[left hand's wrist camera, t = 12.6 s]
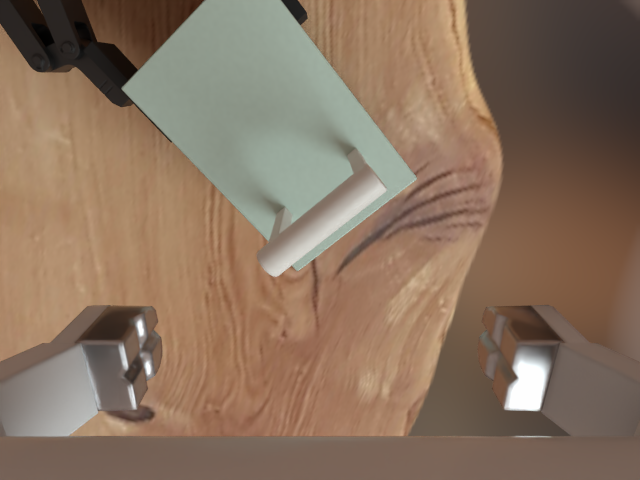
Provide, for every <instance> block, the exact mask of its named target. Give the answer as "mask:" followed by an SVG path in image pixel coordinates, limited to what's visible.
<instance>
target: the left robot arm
mask: <svg viewBox="0 0 640 480" xmlns="http://www.w3.org/2000/svg"><path fill="white" fill-rule="evenodd" d="M157 323H158V319H157V314H156V310H155V309H154V308H153V307H152V306H114V305H113V306H111V305H93V306H87V307H86V308H85V309H84V310H83V311H82V312H81V313H80V314H79V315H78V316H77V317H76V318H75V319H74V320H73V321H72V322H71V323H70V324H69V325H68V326H67V327H66V328H65V329H64V330H63V331H62V332H61V333H60V334H59V335H58V336H57V337H56V338H55V339H54V340H53V341H52V342H51V343H42V344H40V345H38V346H35V347H33V348H31V349H29V350H26V351H24V352H22V353H19V354H17V355H15V356H13V357H10V358H8V359H6V360H3V361H1V362H0V480H640V362H639V361H636V360H634V359H632V358H630V357H627V356H625V355H623V354H620V353H618V352H616V351H614V350H611V349H609V348H607V347H604V346H602V345H600V344H598V343H589V342H588V341H587V340H586V339H585V338H584V337H583V336H582V335H581V334H580V333H579V332H578V331H577V330H576V329H575V328H574V327H573V326H572V325H571V324H570V323H569V322H568V321H567V320H566V319H565V318H564V317H563V316H562V315H561V314H560V313H559V312H558V311H557V310H556V309H555V308H554V307H552V306H549V305H535V306H497V307H486V309H485V311H484V313H483V318H482V323H483V324H484V326H485V328H486V329H487V330H486V331H485V332H484V333H483V334H482V335H481V336H480V337H479V342H478V359H479V363H480V366H481V369H482V371H483V373H484V375H485V376H486V377H488V378H489V379H491V380H492V381H493V387H492V389H493V391H494V393H495V395H496V397H497V398H498V400H499V402H500V404H501V406H502V407H503V409H504V410H524V411H542V413H543V414H544V415H545V416H547V417H548V418H549V419H551V420H552V421H553V422H554V423H556V424H557V425H558V426H559V427H561V428H562V429H563V430H565V431H566V432H567V433H569V434H570V435H571V436H69V435H70V434H72V433H73V432H74V431H76V430H77V429H78V428H79V427H81V426H82V425H83V424H85V423H86V422H87V421H88V420H90V419H91V418H92V417H94V416H95V415H96V414H97V413H98V411H115V410H136V409H137V408H138V406H139V404H140V402H141V400H142V399H143V397H144V395H145V393H146V391H147V389H148V387H147V381H148V380H149V379H151V378H152V377H154V376H155V375H156V373H157V371H158V369H159V367H160V363H161V358H162V341H161V337H160V336H159V335H158V334H157V333H156V332H155V331H154V330H153V329H154V328H155V326H156V325H157Z"/></svg>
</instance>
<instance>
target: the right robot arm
mask: <svg viewBox="0 0 640 480" xmlns="http://www.w3.org/2000/svg"><path fill="white" fill-rule="evenodd" d="M37 1H38V4H39V6H40V8H41V11H42V13H43V14H42V13H41V11H40V10H39V8H38V7H37V5H36V4H35V2H34V1H33V0H0V24H1V25H2V27H3V28H4V29H5V31H6V32H7V34H8V35H9V37H10V38H11V39H12V41H13V42H14V44H15V45H16V47H17V48H18V49H19V51H20V52H21V54H22V55H23V57H24V58H25V59H26V61H27V62H28V64H29V65H30V66H31V67H32V68H33V69H34V70H35V71H37V72H69V71H70V70H71V69H72V68H74V67H77V68H78V69H80V70H81V71H82V72H83V73H84V74H85V75H86V76H87V77H88V78H89V79H90V80H91V81H92V83H93V84H94V85H95V86H96V87H97V88H99V89H100V91H101V92H102V93H103V94H105V96H106V97H107V98H108V99H109V100H110V101H111V102H112V103H114V104H116V105H118V106H120V107H125V106H131V105H132V104H133V103H134V102H133V101H132V100H131V99H130V98H129V96H128V95H127V94H126V93H125V92H124V91H123V90H122V89H121V88H122V87H123V86H124V85H125V84H126V82H127V81H128V80H129V79H130V78H131V77H132V76H133V75H134V74H135V73H136V72H137V71H138V69H137V68H136V67H135V66H134V65H133V64H132V63H131V62H130V61H129V60H128V59H127V58H126V57H125V56H124V54H123V53H122V52H121V51H120V50H119V49H118V48H117V47H116V46H115V45H114V44H108V43H101V42H97V40H96V37H95V34H94V32H93V29H92V27H91V24H90V21H89V19H88V16H87V14H86V11H85V9H84V6H83V3H82V1H81V0H37ZM281 1H282V2H283V4H284V5H285V6H286V7H287V9H288V10H289V11H290V13H291V14H292V15H293V17H294V18H295V19H296V21H297V22H298V23H299V24H300V25H301V24H302V23H303V22H304V21H305V20H306V19H308V18H307V12H306V11H305V10H304V8H303V7H302V6H301V4H300V3H299V2H298V0H281ZM134 104H135V103H134ZM135 105H136V104H135ZM136 106H137V105H136ZM137 108H138V109H139V110H140V111H141V112H142V113H143V114H144V115H145V116H146V117H147V118H148V119H149V120H150V121H151V122H152V123H153V124H154V125H155V126H156V127H157V128H158V126H157V125H156V124H155V123H154V122H153V121H152V120H151V119H150V118H149V117H148V116H147V115H146V114H145V113H144V112H143V111H142V110H141V109H140V108H139V107H138V106H137ZM158 129H159V128H158ZM159 130H160V129H159ZM160 131H161V130H160ZM161 132H162V131H161ZM162 133H163V132H162ZM163 135H164V136H165V137H166V138H167V139H168V140H169V141H170V142H172V141H171V140H170V139H169V138H168V137H167V136H166V135H165V134H164V133H163Z"/></svg>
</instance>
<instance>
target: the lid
mask: <svg viewBox="0 0 640 480" xmlns="http://www.w3.org/2000/svg"><path fill="white" fill-rule="evenodd" d="M121 89H122V90H123V91H124V92H125V93H126V94H127V95H128V96H129V98H130V99H131V100H132V101H133V102H134V103H135V104H136V105H137V106H138V107H139V108H140V109H141V110H142V111H143V112H144V113H145V114H146V115H147V116H148V117H149V118H150V119H151V120H152V121H153V122H154V123H155V124H156V125H157V126H158V128H159V129H160V130H161V131H162V132H163V133H164V134H165V135H166V136H167V137H168V138H169V139H170V140H171V141H172V142H173V143H174V144H175V145H176V146H177V147H178V148H179V149H180V150H181V151H182V152H183V153H184V154H185V155H186V157H187V158H188V159H189V160H190V161H191V162H192V163H193V164H194V165H195V166H196V167H197V168H198V169H199V170H200V171H201V172H202V173H203V174H204V175H205V176H206V177H207V178H208V179H209V180H210V181H211V182H212V183H213V184H214V186H215V187H216V188H217V189H218V190H219V191H220V192H221V193H222V194H223V195H224V196H225V197H226V198H227V199H228V200H229V201H230V202H231V203H232V204H233V205H234V206H235V207H236V208H237V209H238V210H239V211H240V212H241V213H242V214H243V216H244V217H245V218H246V219H247V220H248V221H249V222H250V223H251V224H252V225H253V226H254V227H255V228H256V229H257V230H258V231H259V232H260V233H261V234H262V235H263V236H264V237H265V238H266V239H267V240H268V241H269V243H268V244H266V245H265V246H264V247H263V248H262V249H260V250H259V251H258V252H257V259H258V261H259V263H260V265H261V266H262V267H263V269H264V270H265V271H266V272H267V273H268V274H270V275H271V276H274V277H276V276H279V275H280V274H281V273H282V272H284V271H285V270H286V269H288V268H289V267H290V266H291V265H292V266H293V267H294V268H295V269H296V270H297V271H299V270H300V269H301V268H302V267H304V266H305V265H306V264H308V263H309V262H310V261H311V260H313V259H314V258H315V257H317V256H318V255H319V254H321V253H322V252H323V251H324V250H326V249H327V248H328V247H330V246H331V245H332V244H333V243H335V242H336V241H337V240H339V239H340V238H341V237H343V236H344V235H345V234H346V233H348V232H349V231H350V230H352V229H353V228H354V227H355V226H357V225H358V224H359V223H361V222H362V221H363V220H364V219H366V218H367V217H368V216H370V215H371V214H372V213H374V212H375V211H376V210H377V209H379V208H380V207H381V206H383V205H384V204H385V203H386V202H388V201H389V200H390V199H392V198H393V197H394V196H396V195H397V194H398V193H399V192H401V191H402V190H403V189H405V188H406V187H407V186H408V185H410V184H411V183H412V182H414V181H415V180H416V179H417V177H416V176H415V174H414V173H413V172H412V171H411V169H410V168H409V167H408V165H407V164H406V163H405V161H404V160H403V159H402V158H401V156H400V155H399V154H398V152H397V151H396V150H395V148H394V147H393V146H392V144H391V143H390V142H389V141H388V139H387V138H386V137H385V135H384V134H383V133H382V131H381V130H380V129H379V128H378V126H377V125H376V124H375V122H374V121H373V120H372V118H371V117H370V116H369V114H368V113H367V112H366V111H365V109H364V108H363V107H362V105H361V104H360V103H359V101H358V100H357V99H356V97H355V96H354V95H353V94H352V92H351V91H350V90H349V88H348V87H347V86H346V84H345V83H344V82H343V81H342V79H341V78H340V77H339V75H338V74H337V73H336V71H335V70H334V69H333V67H332V66H331V65H330V64H329V62H328V61H327V60H326V58H325V57H324V56H323V54H322V53H321V52H320V51H319V49H318V48H317V47H316V45H315V44H314V43H313V41H312V40H311V39H310V37H309V36H308V35H307V34H306V32H305V31H304V30H303V28H302V27H301V26H300V24H299V23H298V22H297V21H296V19H295V18H294V17H293V15H292V14H291V13H290V11H289V10H288V9H287V7H286V6H285V5H284V4H283V2H282V1H281V0H204V1H203V2H202V3H201V4H200V5H199V6H198V8H197V9H196V10H195V11H194V12H193V13H192V14H191V15H190V16H189V17H188V18H187V19H186V20H185V21H184V22H183V23H182V24H181V25H180V27H179V28H178V29H177V30H176V31H175V32H174V33H173V34H172V35H171V36H170V37H169V38H168V39H167V40H166V41H165V42H164V43H163V44H162V46H161V47H160V48H159V49H158V50H157V51H156V52H155V53H154V54H153V55H152V56H151V57H150V58H149V59H148V60H147V61H146V62H145V63H144V65H143V66H142V67H141V68H140V69H139V70H138V71H137V72H136V73H135V74H134V75H133V76H132V77H131V78H130V79H129V80H128V81H127V82H126V84H125V85H124V86H123V87H122V88H121Z"/></svg>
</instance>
